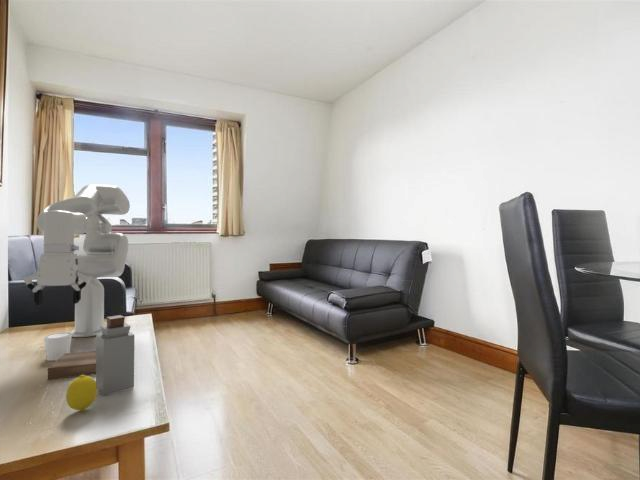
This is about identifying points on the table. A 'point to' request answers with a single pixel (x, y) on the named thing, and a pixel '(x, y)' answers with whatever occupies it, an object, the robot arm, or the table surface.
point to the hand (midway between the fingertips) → (57, 303)
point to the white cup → (57, 345)
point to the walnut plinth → (73, 365)
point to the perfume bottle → (114, 357)
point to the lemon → (81, 392)
